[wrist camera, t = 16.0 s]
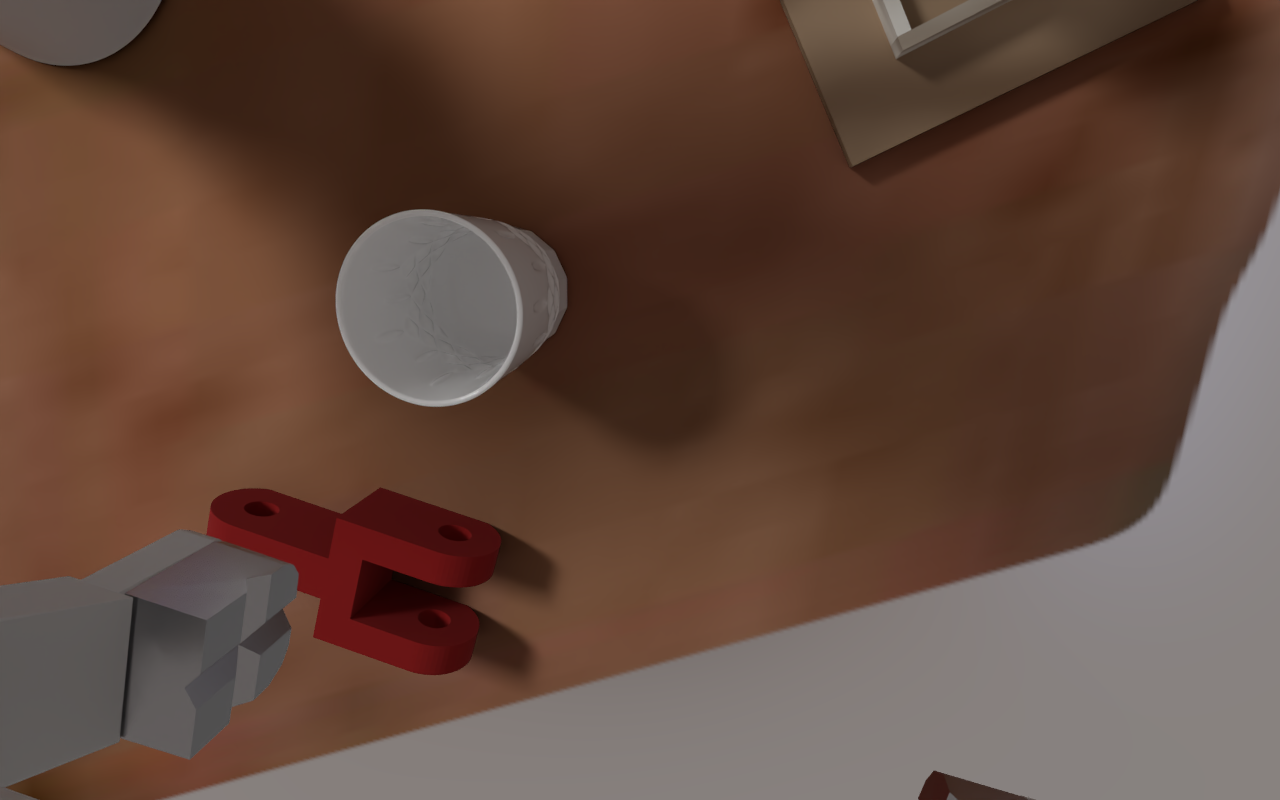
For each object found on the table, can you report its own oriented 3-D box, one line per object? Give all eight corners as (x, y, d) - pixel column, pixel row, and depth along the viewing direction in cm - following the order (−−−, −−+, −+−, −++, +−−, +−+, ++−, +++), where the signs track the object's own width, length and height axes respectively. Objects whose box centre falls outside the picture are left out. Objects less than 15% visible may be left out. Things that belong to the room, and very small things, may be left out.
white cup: (469, 186, 40) (375, 173, 30) (605, 256, 40) (554, 266, 30) (413, 322, 42) (308, 352, 32) (542, 390, 42) (475, 440, 32)
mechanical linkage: (513, 529, 44) (482, 567, 39) (484, 637, 46) (452, 686, 41) (255, 443, 45) (195, 469, 40) (237, 551, 47) (177, 589, 42)
